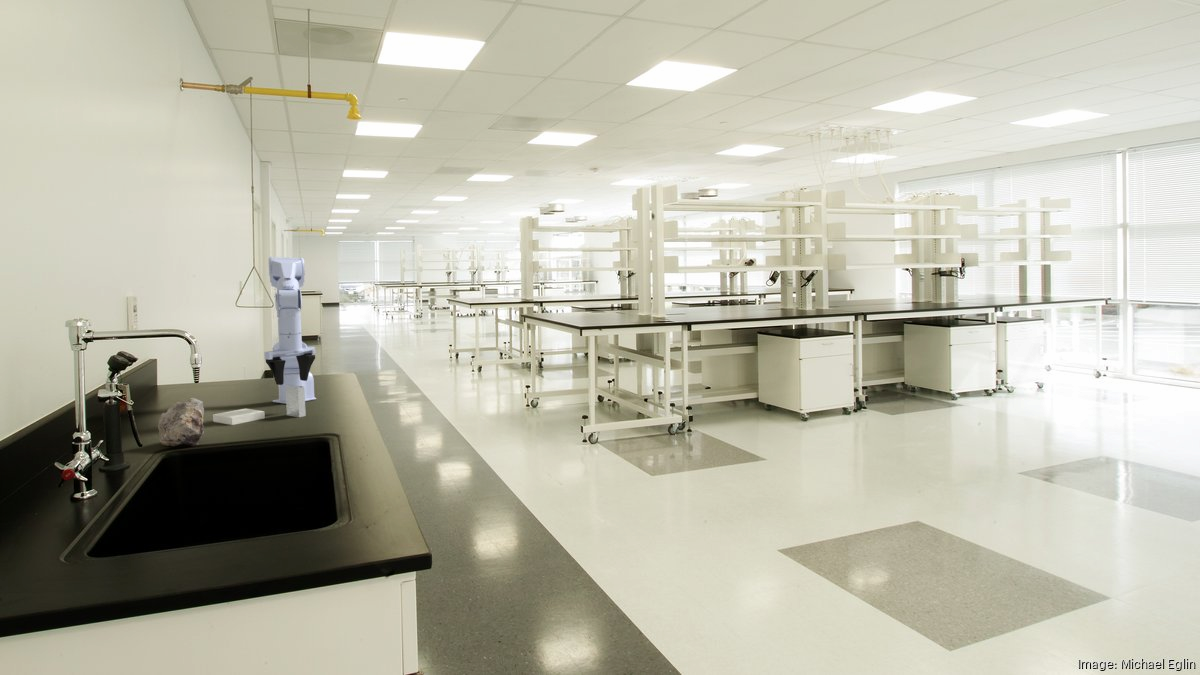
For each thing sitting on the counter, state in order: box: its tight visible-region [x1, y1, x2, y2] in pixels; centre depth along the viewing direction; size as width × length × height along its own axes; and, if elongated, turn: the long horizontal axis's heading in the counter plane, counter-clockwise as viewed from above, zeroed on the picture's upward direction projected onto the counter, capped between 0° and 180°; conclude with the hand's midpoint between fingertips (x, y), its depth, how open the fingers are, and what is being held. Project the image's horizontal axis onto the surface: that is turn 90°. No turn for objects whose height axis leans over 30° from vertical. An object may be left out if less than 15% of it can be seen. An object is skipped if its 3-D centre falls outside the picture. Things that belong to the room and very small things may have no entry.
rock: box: [157, 397, 205, 447], centre depth 146 cm, size 9×12×10 cm
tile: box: [212, 408, 266, 426], centre depth 170 cm, size 2×8×9 cm
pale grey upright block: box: [285, 385, 307, 418], centre depth 176 cm, size 2×5×8 cm, turn 62°
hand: (292, 382), depth 179 cm, fingers open, 7 cm apart
